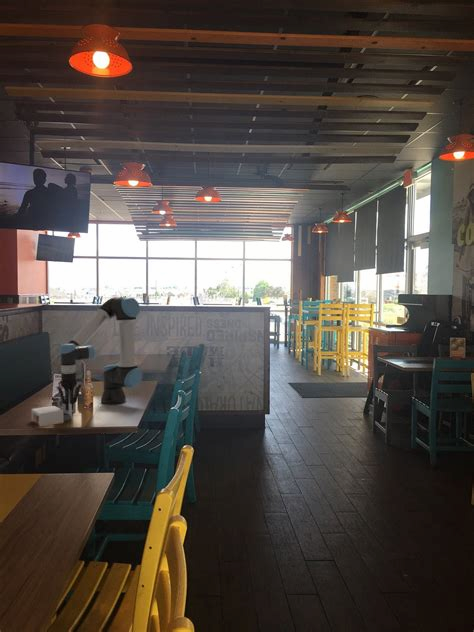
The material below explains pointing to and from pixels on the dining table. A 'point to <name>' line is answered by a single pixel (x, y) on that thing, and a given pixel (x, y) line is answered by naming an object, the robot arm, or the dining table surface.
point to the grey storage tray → (65, 417)
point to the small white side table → (47, 415)
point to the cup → (65, 405)
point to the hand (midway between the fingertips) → (69, 416)
